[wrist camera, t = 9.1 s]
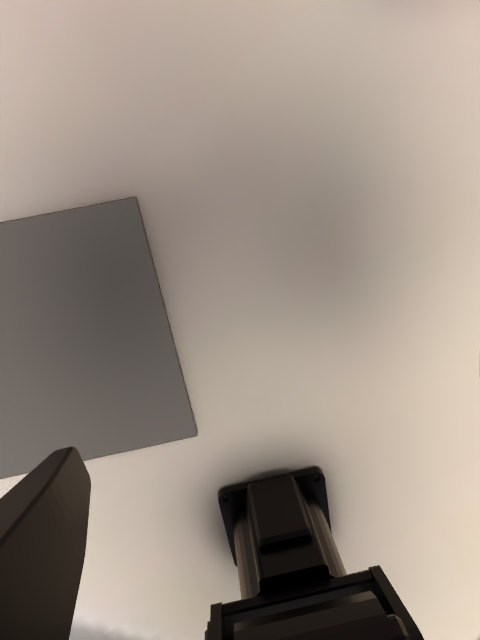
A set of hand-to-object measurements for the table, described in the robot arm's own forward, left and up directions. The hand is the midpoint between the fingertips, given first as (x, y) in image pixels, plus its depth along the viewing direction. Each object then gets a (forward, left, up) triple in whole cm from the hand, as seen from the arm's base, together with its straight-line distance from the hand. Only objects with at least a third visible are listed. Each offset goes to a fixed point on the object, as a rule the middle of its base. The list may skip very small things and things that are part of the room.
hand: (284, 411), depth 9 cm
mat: (-3, +10, -12) cm, 16 cm away
